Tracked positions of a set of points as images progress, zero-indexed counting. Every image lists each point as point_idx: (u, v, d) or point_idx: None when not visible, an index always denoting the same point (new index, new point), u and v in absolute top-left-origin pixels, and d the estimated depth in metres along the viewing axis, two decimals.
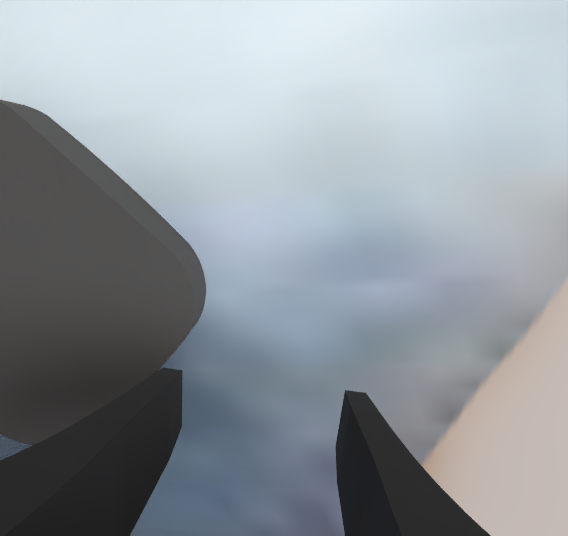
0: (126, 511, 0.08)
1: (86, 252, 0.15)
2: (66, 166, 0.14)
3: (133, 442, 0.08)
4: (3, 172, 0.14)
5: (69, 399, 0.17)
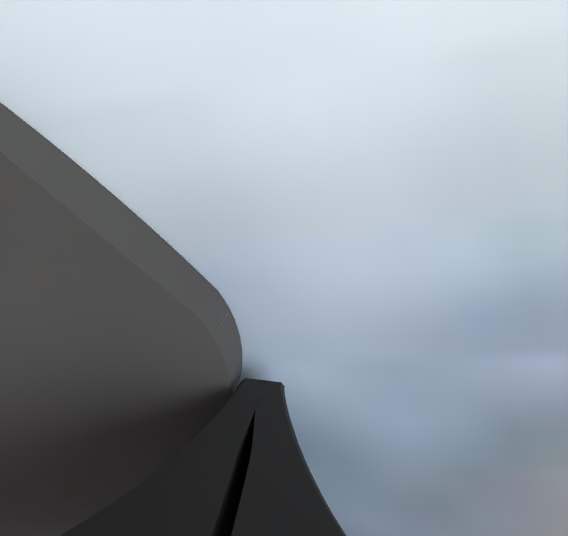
0: None
1: (48, 317, 0.09)
2: (5, 172, 0.08)
3: (243, 457, 0.08)
4: None
5: (36, 534, 0.11)
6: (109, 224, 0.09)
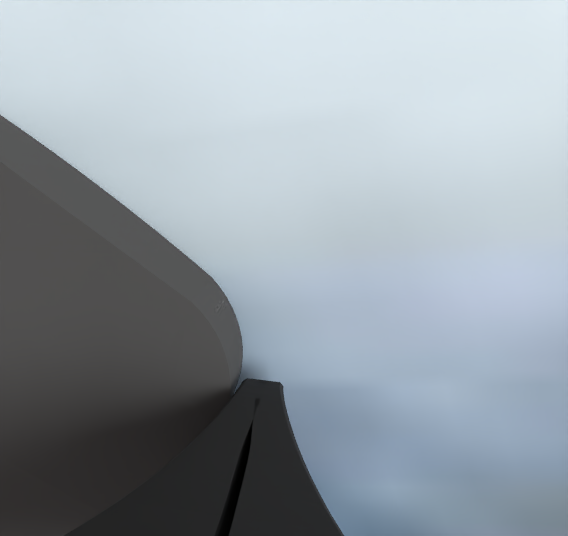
0: None
1: (40, 312, 0.09)
2: None
3: (245, 457, 0.08)
4: None
5: None
6: (95, 214, 0.09)
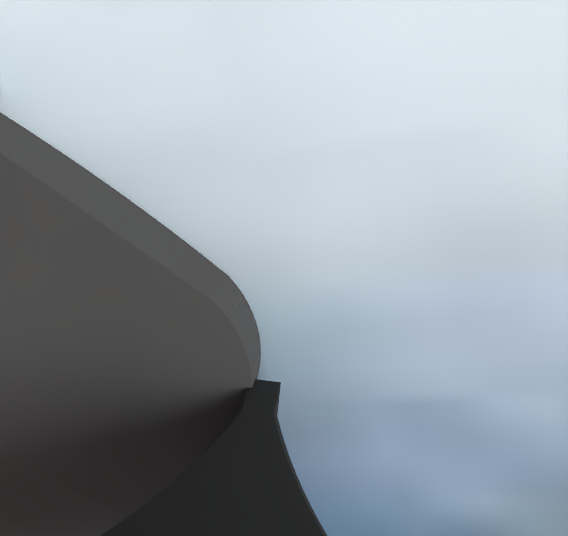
0: None
1: (60, 314, 0.08)
2: (2, 170, 0.08)
3: None
4: None
5: None
6: (111, 214, 0.09)
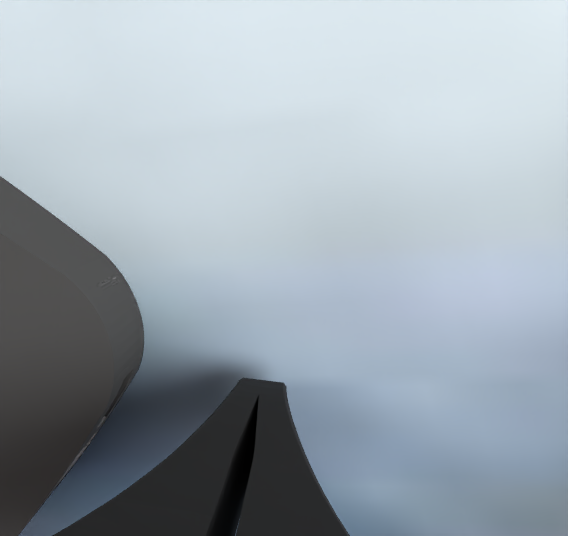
0: (231, 526, 0.08)
1: None
2: None
3: (240, 456, 0.08)
4: None
5: None
6: None
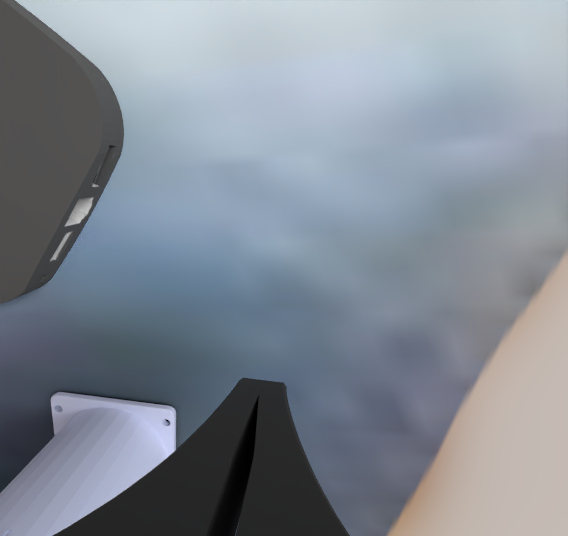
0: (231, 526, 0.08)
1: None
2: None
3: (240, 456, 0.08)
4: None
5: None
6: (14, 6, 0.15)
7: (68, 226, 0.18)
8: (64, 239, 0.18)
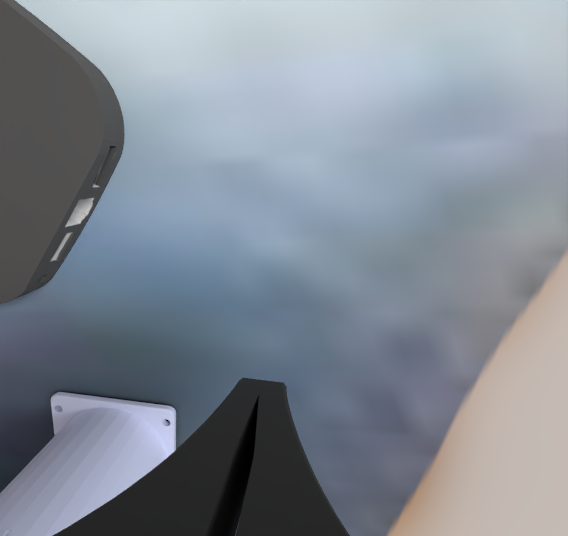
0: (231, 526, 0.08)
1: None
2: None
3: (240, 456, 0.08)
4: None
5: (0, 239, 0.17)
6: (15, 7, 0.15)
7: (68, 226, 0.18)
8: (64, 239, 0.18)
